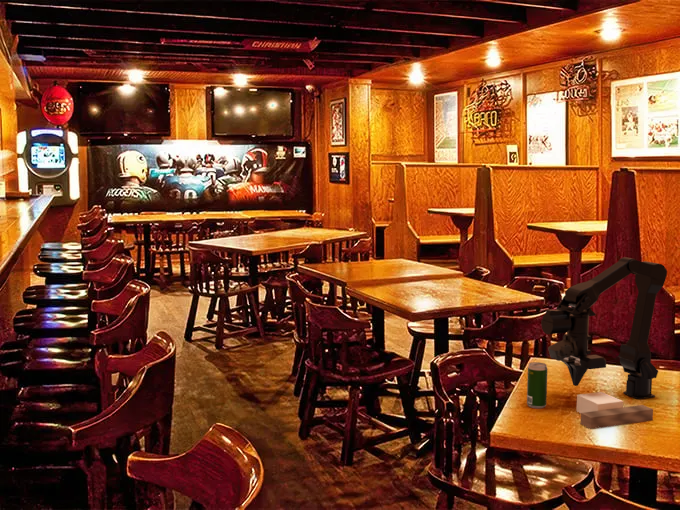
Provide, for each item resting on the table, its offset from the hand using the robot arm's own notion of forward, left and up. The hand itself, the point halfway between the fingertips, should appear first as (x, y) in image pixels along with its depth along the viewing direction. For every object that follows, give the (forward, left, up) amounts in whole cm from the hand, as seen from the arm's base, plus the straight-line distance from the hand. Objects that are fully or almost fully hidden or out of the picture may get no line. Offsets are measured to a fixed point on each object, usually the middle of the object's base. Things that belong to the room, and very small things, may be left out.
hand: (575, 385), depth 219 cm
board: (0, +18, -5) cm, 18 cm away
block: (0, +11, -5) cm, 12 cm away
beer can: (+12, -1, -5) cm, 13 cm away
